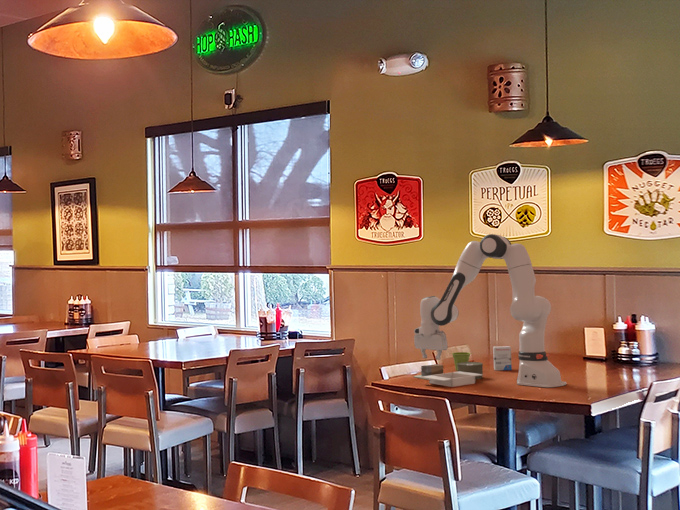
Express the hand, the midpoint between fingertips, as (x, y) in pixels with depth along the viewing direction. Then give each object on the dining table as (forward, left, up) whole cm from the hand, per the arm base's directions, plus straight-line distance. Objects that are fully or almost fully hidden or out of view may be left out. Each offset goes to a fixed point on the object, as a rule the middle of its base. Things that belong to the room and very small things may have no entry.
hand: (431, 358), depth 387 cm
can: (-13, -13, -9) cm, 20 cm away
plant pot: (+8, -27, -9) cm, 30 cm away
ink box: (-5, -43, -9) cm, 44 cm away
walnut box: (+1, -1, -8) cm, 8 cm away
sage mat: (+1, 0, -9) cm, 9 cm away
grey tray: (-19, +5, -9) cm, 22 cm away
